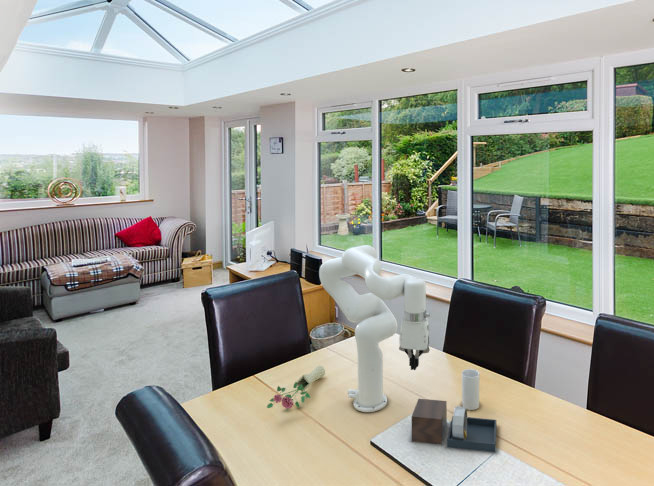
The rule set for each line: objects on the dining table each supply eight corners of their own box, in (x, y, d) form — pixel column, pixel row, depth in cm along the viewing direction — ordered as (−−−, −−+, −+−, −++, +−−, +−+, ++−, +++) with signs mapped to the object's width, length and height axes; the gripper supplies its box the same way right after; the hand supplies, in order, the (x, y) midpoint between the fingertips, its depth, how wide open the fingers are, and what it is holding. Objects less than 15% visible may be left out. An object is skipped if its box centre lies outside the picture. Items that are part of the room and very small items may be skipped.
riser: (411, 441, 139) (411, 416, 139) (418, 421, 149) (418, 398, 150) (441, 444, 137) (441, 419, 137) (446, 424, 148) (446, 400, 148)
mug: (477, 412, 155) (476, 378, 155) (459, 408, 157) (459, 375, 158) (483, 398, 164) (483, 366, 165) (467, 395, 167) (466, 364, 167)
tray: (447, 447, 136) (447, 439, 136) (452, 422, 149) (452, 415, 149) (495, 452, 133) (495, 444, 133) (496, 427, 146) (496, 419, 146)
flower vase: (325, 398, 179) (291, 428, 145) (299, 387, 181) (259, 415, 147) (335, 369, 182) (304, 392, 148) (309, 358, 183) (273, 379, 150)
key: (465, 439, 137) (466, 439, 138) (465, 432, 138) (467, 432, 138) (457, 431, 142) (458, 431, 142) (458, 424, 142) (459, 424, 142)
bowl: (451, 424, 134) (462, 426, 134) (456, 399, 143) (466, 401, 142) (453, 446, 137) (464, 447, 136) (457, 420, 146) (467, 421, 145)
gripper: (437, 313, 151) (437, 365, 150) (396, 309, 153) (396, 361, 153) (433, 321, 143) (433, 375, 143) (391, 317, 146) (390, 371, 146)
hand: (413, 368), depth 148 cm, fingers closed
